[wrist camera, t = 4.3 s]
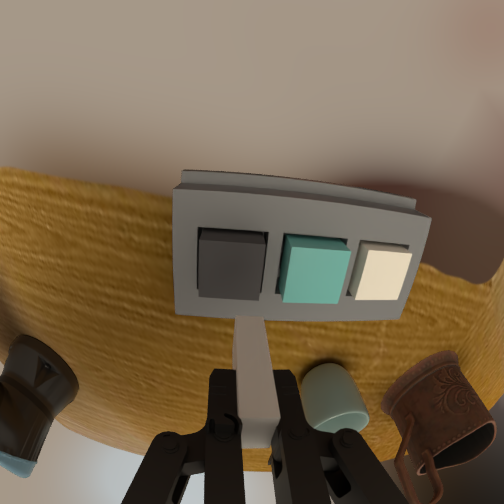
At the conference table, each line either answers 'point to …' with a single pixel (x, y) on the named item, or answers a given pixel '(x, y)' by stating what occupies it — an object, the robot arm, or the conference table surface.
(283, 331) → the conference table surface
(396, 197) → the console
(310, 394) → the cup
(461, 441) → the cup holder
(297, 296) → the teal key
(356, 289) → the ivory key
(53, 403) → the robot arm
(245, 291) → the black key
